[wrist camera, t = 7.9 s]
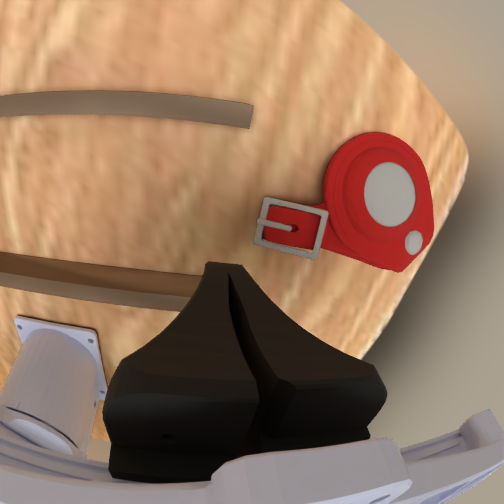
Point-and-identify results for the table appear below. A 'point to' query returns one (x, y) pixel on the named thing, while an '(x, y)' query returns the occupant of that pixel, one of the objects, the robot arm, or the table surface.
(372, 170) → the tracker holder
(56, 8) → the table surface
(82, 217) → the table surface
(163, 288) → the frame
